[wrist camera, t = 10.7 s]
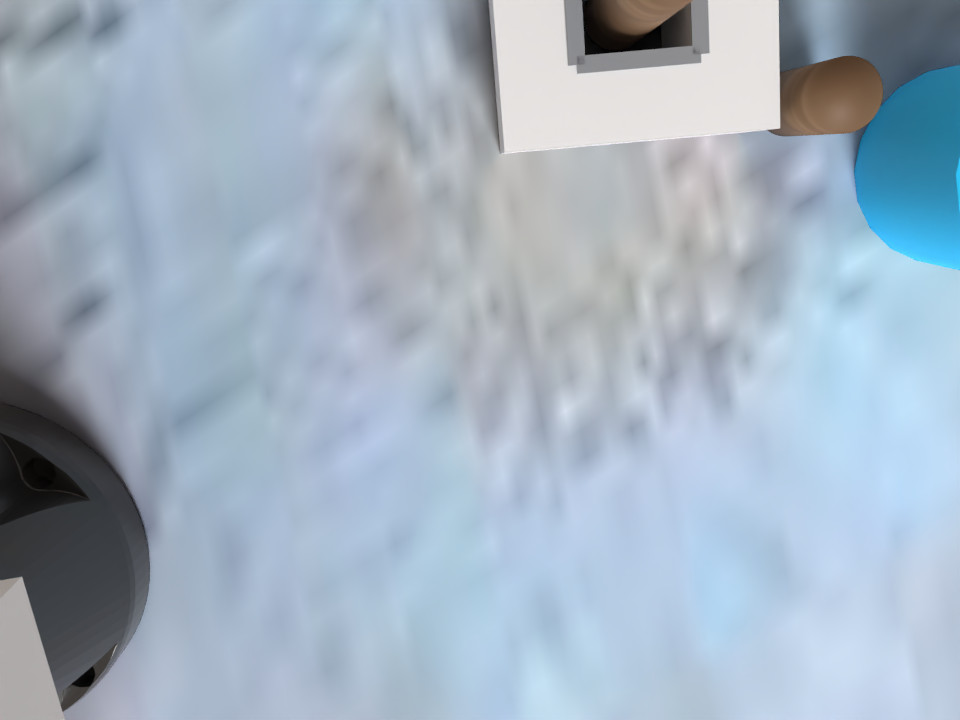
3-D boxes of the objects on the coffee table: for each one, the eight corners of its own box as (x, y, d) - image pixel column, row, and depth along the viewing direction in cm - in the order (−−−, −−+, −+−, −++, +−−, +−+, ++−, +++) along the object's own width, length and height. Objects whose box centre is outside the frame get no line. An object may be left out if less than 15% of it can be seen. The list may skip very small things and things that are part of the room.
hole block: (500, 153, 37) (504, 152, 32) (480, -106, 35) (481, -151, 30) (739, 132, 37) (781, 128, 32) (734, -130, 35) (777, -178, 30)
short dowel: (755, 137, 37) (806, 135, 31) (756, 72, 37) (809, 57, 31) (818, 134, 37) (880, 131, 31) (820, 69, 37) (885, 53, 31)
